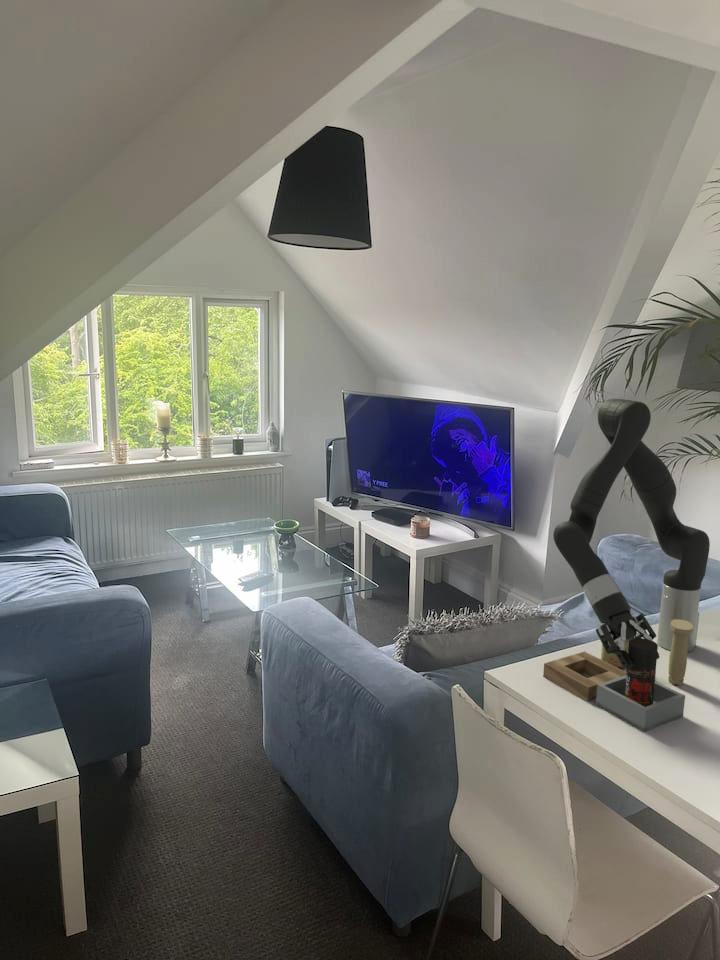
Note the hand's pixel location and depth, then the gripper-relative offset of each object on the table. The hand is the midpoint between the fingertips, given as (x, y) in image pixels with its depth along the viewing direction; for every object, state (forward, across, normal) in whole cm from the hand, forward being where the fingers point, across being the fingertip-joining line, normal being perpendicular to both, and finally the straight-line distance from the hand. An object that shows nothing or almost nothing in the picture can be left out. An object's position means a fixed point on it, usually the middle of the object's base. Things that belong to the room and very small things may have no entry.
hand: (643, 663), depth 158 cm
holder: (-3, 0, +19) cm, 19 cm away
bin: (+8, 0, +8) cm, 11 cm away
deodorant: (+7, 0, +8) cm, 10 cm away
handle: (+5, +19, +11) cm, 22 cm away
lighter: (-5, +14, +21) cm, 26 cm away
